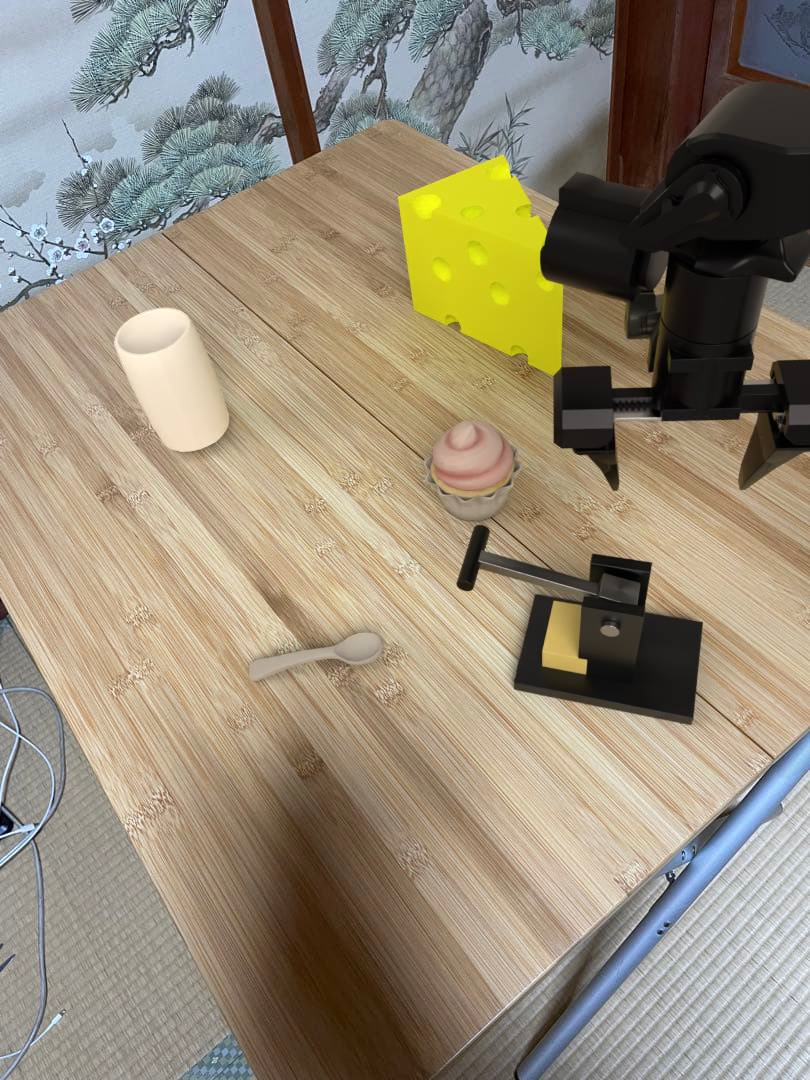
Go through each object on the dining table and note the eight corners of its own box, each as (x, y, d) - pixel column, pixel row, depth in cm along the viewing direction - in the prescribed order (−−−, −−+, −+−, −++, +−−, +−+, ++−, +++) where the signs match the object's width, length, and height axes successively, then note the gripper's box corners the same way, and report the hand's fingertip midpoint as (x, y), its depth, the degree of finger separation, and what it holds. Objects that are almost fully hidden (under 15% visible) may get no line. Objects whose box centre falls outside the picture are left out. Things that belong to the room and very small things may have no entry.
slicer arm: (454, 592, 63) (458, 575, 61) (471, 536, 66) (475, 518, 64) (624, 642, 62) (634, 626, 60) (634, 582, 65) (643, 565, 63)
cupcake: (485, 550, 78) (478, 478, 70) (409, 507, 82) (396, 435, 75) (543, 489, 82) (543, 413, 74) (468, 451, 86) (460, 376, 78)
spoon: (387, 664, 71) (382, 652, 70) (254, 693, 72) (246, 682, 71) (384, 635, 73) (379, 623, 72) (254, 664, 74) (246, 652, 73)
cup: (228, 399, 96) (188, 295, 85) (241, 447, 91) (200, 342, 80) (157, 422, 95) (106, 319, 84) (166, 471, 90) (113, 369, 79)
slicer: (513, 690, 69) (509, 618, 60) (535, 601, 74) (534, 523, 65) (691, 725, 65) (713, 654, 56) (701, 629, 70) (722, 550, 61)
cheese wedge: (582, 271, 103) (588, 154, 91) (560, 379, 91) (563, 260, 80) (430, 266, 108) (417, 154, 96) (391, 368, 96) (371, 254, 84)
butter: (553, 616, 71) (553, 600, 69) (596, 623, 70) (597, 607, 68) (542, 666, 68) (542, 651, 66) (586, 674, 67) (587, 659, 65)
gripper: (844, 232, 54) (789, 409, 67) (553, 248, 58) (552, 415, 70) (886, 342, 48) (816, 517, 60) (554, 353, 51) (552, 517, 63)
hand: (677, 486), depth 63 cm, fingers open, 9 cm apart
